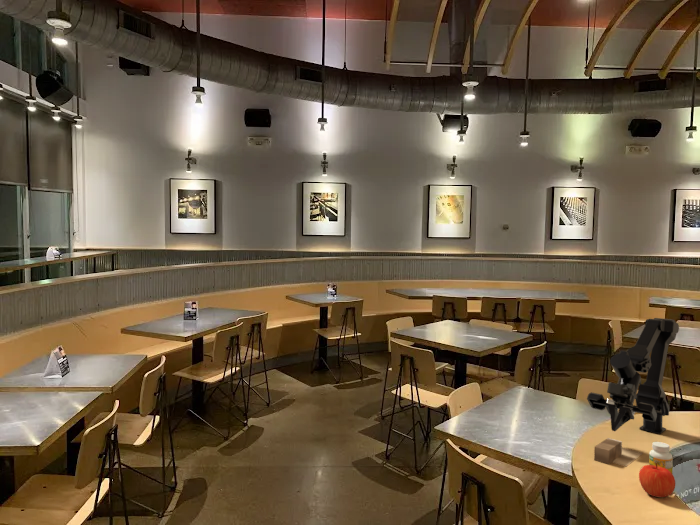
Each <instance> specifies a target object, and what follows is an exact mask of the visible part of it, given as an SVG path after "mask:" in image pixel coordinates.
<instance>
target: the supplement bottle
mask: <svg viewBox="0 0 700 525" xmlns="http://www.w3.org/2000/svg"><path fill="white" fill-rule="evenodd" d="M651 444H652V445H651V448H652V449H651V450H649V453H648V456H649V457H648V458H649V459H648V460H649V461H648V462H649V463H648V465H654V466H656V464H655V463H657V466H659V467H663V468H666V469H667V470H669V471H670V472H671V473H672V474H673V473H674V472H673V463H674V460H673V455H672V453H671V452H670V451H671V450H670V444H668V443H665V442H661V441H653V442H652V443H651ZM673 475H674V474H673Z"/></svg>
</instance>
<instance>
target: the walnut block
mask: <svg viewBox="0 0 700 525" xmlns="http://www.w3.org/2000/svg"><path fill="white" fill-rule="evenodd" d="M622 447H623V441H622V440H618V439H613V438H610V437H607V438H606V439H604V440H602V441H601V442H600V443H598V444H597V445H594V450H593V451H594V452H593V453H594V461H597V462H600V463H603V464H606V465H610V464H611V463H612V461H614V460H615V459H617V458H618V457H619V456H621V455H622Z"/></svg>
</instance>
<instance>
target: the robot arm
mask: <svg viewBox="0 0 700 525" xmlns="http://www.w3.org/2000/svg"><path fill="white" fill-rule="evenodd" d="M644 322H645V323H644V327H643V329H642V331H641V333H640V335H639V337H638V339H637V341H636V343H635V344H634V346H632V347H629V348H628V349H627V350H625V351H624V350H620V352H619V353H615V354H614V355H612V356H611V357H610V361H609V363H610V365H611V367H612V369H613V371H614V373H615V375H616V376H617V377H618V381H617V382H611V381H610V382H608V385H607V394H609V398H606V399H605V397H604V395H603V394H602V393H597V392H596V393H595V392H593V391H592V392H589V393H588V395H587V396H586V400H587V402H588V403H589V405H590V407H591V408H592V409H593V410H594V409H595V410H597V411H598V410H599V411H603V410H607V412H608V414H609V416H610V425H611V427H610V428H611V431H612V432H616V431H618V430H619V429H620V428H621V427H622V426H623V425H625V424H626V423H627V422H629V421H630V420H635V414H636V413H638V414H641V417H642V425H640V426H639V428H638V429H639V430H641V431H646V432H650V433H654V434H659V435H661V434H662V433H664V432H665V431H666V430H667V428H666V427H664V426H663V417H665V416H669V415H670V405H669V403H668V400H667V399H666V393H665V392H666V391H665V390H664V388H663V381H664V373H665V367H666V361H667V356H668V351H669V347H670V346H669V345H670V344H671V343H673V342H674V341H675V340H676V337H677V334H678V333H679V331H680V326H679V325H680V324H679V323H678V322H676V320H675V319H671V318H669V319H668V318H661V317H660V318H659V317H654V318H648V319H647V318H646V320H645V321H644ZM640 373H643V374H644V373H645V374H646V373H647V374H646V380H645V381H644V382H643V383H642V377H641V376H642V375H640ZM634 402H635V405H634Z"/></svg>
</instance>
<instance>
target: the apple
mask: <svg viewBox="0 0 700 525" xmlns="http://www.w3.org/2000/svg"><path fill="white" fill-rule="evenodd" d="M655 464H656V466H654V465H649V464H645V465H643V466H642V467H641V468H640V469H639V473H638V478H639V483H640V486H641V488H642V489H643V491H644V492H645V493H646V494H648V495H650V496H652V497H658V498H665V497H669V496H671V495H672V494H673V493H674V491H675V489H676V479H675V476H674V474H672V473H673V472H672V473H671V472H670V471H669V470H667V469H666V468H663V467H659V466H657V463H655Z"/></svg>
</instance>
